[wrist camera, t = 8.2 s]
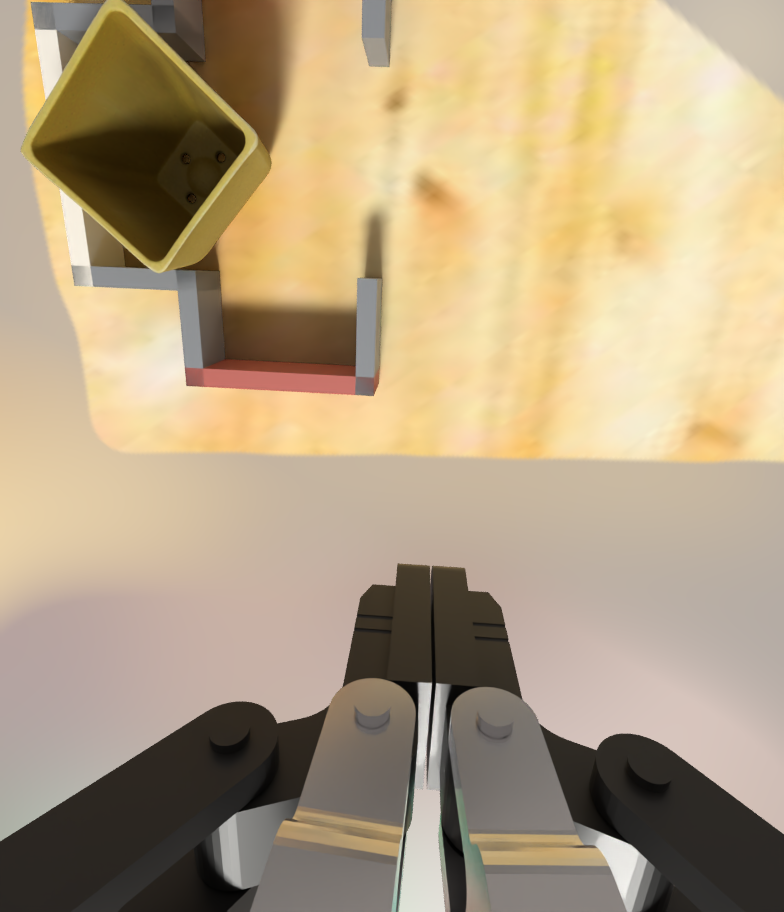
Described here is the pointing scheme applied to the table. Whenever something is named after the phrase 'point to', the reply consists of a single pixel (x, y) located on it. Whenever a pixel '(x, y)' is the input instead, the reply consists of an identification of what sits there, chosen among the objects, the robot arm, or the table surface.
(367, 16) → the box
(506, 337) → the table surface
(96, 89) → the flower pot
